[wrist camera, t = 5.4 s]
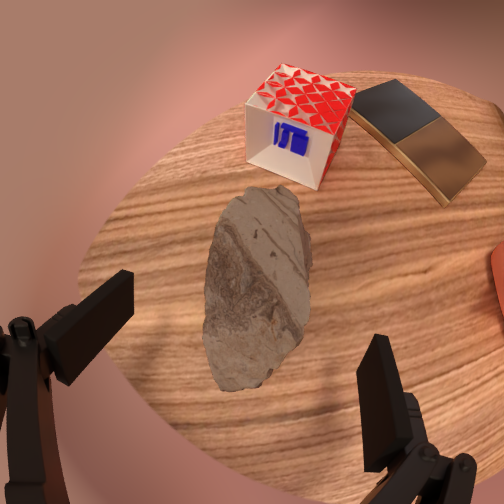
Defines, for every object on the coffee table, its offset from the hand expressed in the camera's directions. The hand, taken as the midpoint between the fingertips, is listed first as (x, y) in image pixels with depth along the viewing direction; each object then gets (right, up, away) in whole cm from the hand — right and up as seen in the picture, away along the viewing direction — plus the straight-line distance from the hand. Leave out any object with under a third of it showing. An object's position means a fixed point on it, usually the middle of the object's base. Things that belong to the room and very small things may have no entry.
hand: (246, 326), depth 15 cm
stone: (+1, 0, +10) cm, 10 cm away
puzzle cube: (+5, +15, +16) cm, 22 cm away
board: (+22, +19, +18) cm, 34 cm away
